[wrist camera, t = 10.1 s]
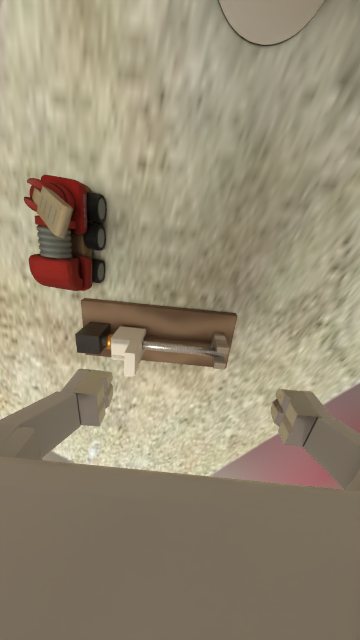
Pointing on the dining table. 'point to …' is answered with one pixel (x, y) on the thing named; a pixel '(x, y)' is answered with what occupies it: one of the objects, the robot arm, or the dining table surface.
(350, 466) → the robot arm
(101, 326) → the rod
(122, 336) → the sleeve
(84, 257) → the toy fire truck
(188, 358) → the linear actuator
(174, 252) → the dining table surface
